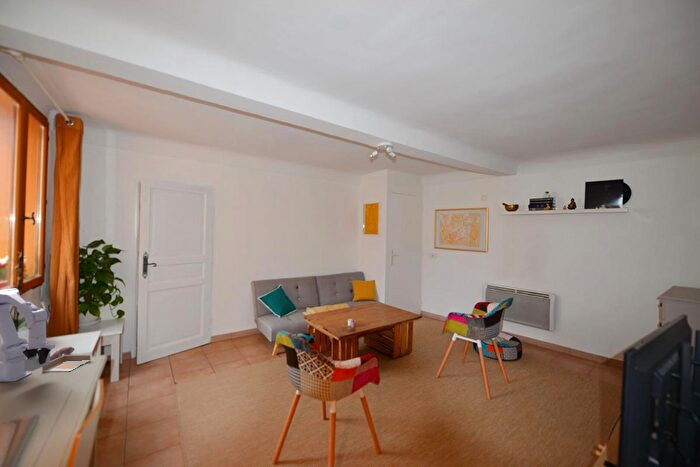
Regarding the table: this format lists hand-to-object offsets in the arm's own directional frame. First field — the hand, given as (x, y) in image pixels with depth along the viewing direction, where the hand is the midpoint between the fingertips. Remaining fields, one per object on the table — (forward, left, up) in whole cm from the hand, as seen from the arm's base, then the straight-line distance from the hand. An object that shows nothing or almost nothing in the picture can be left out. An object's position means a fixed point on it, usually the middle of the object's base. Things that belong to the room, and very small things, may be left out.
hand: (37, 363), depth 141 cm
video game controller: (-13, +26, -9) cm, 31 cm away
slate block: (0, 0, -2) cm, 2 cm away
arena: (-1, +16, -9) cm, 18 cm away
